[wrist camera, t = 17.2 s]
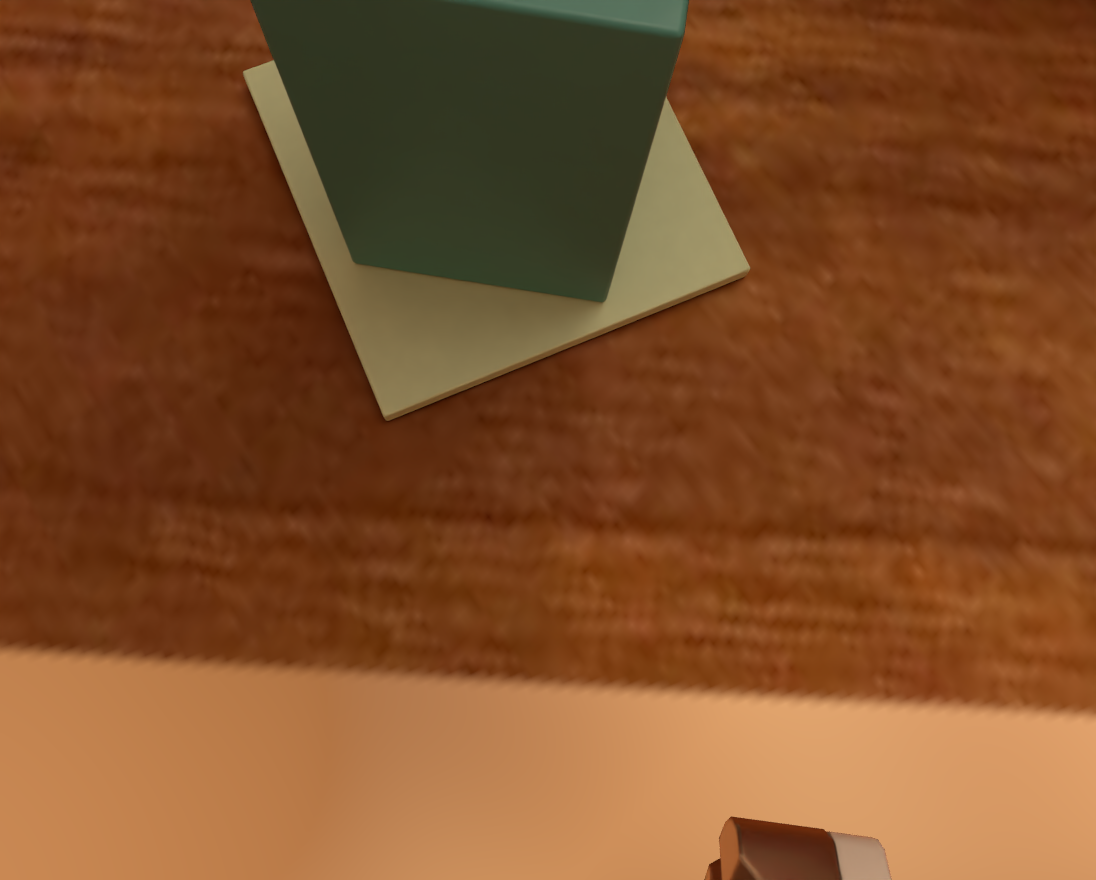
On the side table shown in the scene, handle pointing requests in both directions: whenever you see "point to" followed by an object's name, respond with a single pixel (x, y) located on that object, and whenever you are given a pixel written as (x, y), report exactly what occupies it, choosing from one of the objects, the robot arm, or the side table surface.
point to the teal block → (480, 128)
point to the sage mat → (494, 311)
